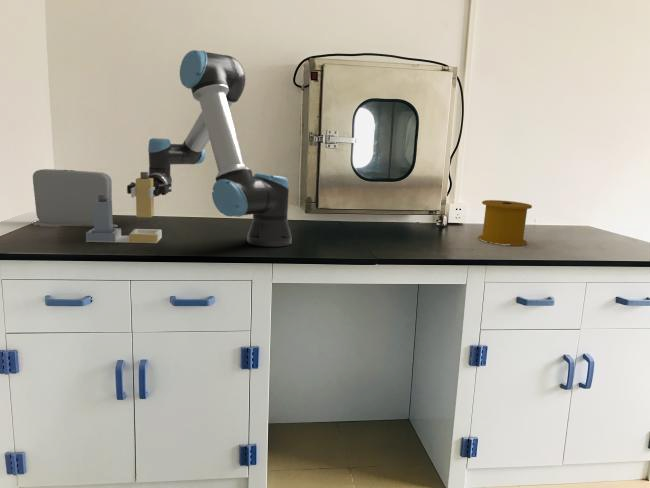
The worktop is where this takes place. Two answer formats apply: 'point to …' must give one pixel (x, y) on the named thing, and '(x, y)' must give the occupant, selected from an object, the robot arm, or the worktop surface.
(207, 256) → the worktop surface
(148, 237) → the slot rack
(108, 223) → the blue-grey bottle
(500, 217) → the spool
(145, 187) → the ochre plug
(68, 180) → the grey upright panel
